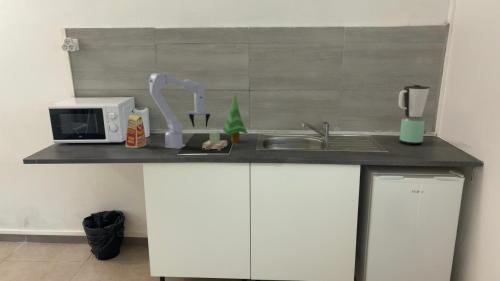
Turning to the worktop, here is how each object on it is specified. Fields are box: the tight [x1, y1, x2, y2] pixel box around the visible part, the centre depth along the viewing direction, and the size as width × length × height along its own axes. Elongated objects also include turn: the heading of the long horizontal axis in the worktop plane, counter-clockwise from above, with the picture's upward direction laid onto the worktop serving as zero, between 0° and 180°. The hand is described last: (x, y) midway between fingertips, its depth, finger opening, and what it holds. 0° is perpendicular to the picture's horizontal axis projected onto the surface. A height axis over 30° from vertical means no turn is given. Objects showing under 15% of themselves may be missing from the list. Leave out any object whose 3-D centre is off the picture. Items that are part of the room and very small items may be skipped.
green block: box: [209, 130, 221, 144], centre depth 211 cm, size 4×4×6 cm
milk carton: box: [125, 112, 147, 149], centre depth 214 cm, size 9×9×20 cm
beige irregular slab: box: [202, 139, 228, 151], centre depth 212 cm, size 11×11×3 cm
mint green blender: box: [397, 84, 431, 146], centre depth 217 cm, size 19×13×35 cm
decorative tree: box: [222, 94, 248, 144], centre depth 222 cm, size 14×16×30 cm
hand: (200, 126), depth 219 cm, fingers open, 7 cm apart
